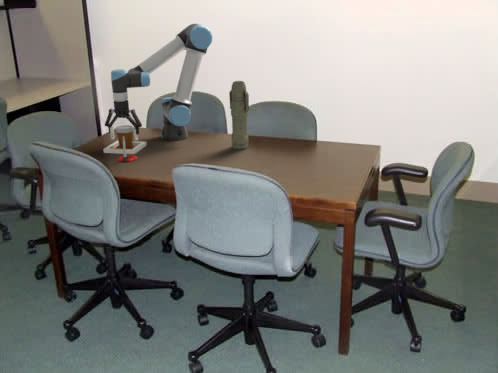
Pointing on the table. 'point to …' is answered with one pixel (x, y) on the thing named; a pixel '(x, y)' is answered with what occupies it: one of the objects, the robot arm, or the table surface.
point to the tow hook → (125, 157)
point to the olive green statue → (239, 114)
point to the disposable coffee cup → (125, 136)
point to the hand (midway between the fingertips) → (124, 139)
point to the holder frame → (138, 147)
